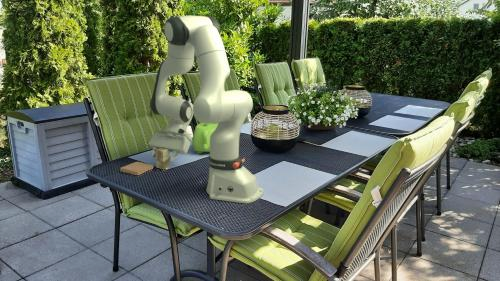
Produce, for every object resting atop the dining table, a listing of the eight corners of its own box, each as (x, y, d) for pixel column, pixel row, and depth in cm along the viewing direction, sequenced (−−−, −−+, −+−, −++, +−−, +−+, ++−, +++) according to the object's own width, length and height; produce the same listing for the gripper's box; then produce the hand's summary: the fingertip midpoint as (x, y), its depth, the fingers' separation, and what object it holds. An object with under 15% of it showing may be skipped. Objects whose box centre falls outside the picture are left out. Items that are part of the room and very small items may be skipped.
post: (169, 167, 172) (168, 149, 169) (163, 170, 168) (162, 151, 166) (162, 166, 173) (161, 147, 171) (156, 169, 170) (155, 150, 167)
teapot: (232, 158, 186) (232, 127, 182) (189, 157, 187) (188, 126, 182) (235, 143, 210) (235, 116, 206) (197, 143, 211) (196, 115, 206)
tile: (153, 170, 169) (153, 165, 169) (137, 177, 161) (137, 172, 160) (137, 166, 174) (136, 161, 173) (120, 173, 165) (120, 167, 165)
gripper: (153, 126, 176) (140, 151, 171) (189, 131, 168) (176, 158, 162) (160, 133, 182) (147, 158, 176) (195, 139, 173) (183, 165, 167)
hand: (161, 158), depth 169 cm, fingers open, 8 cm apart
